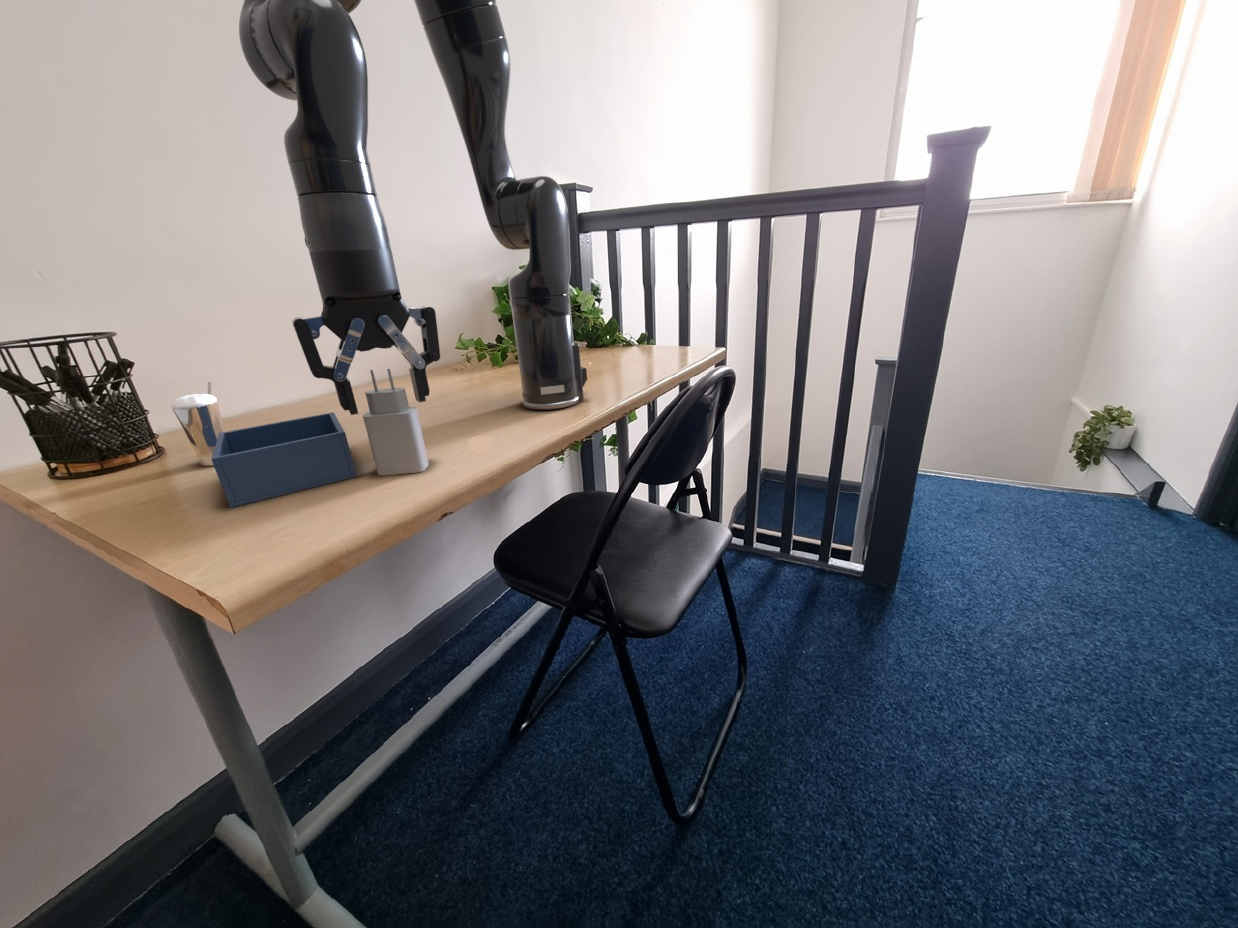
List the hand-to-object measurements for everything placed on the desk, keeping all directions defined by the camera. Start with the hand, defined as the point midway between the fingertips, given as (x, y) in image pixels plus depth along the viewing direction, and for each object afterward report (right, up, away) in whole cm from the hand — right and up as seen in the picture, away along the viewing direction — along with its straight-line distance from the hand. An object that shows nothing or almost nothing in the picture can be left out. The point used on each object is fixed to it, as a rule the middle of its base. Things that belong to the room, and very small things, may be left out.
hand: (388, 406), depth 56 cm
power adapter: (0, -7, +3) cm, 8 cm away
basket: (-13, -8, +3) cm, 15 cm away
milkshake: (-27, -6, +10) cm, 29 cm away
